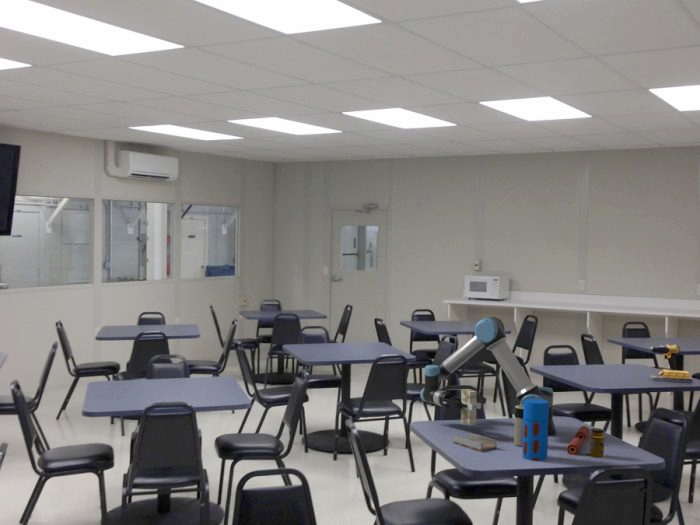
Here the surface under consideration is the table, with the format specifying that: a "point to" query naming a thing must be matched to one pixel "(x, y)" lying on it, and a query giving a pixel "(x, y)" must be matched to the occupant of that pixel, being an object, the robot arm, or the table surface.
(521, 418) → the travel mug
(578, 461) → the table surface
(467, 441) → the floor track
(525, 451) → the thermos
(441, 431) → the table surface
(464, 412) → the pale wooden block
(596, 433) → the condiment
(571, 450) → the blood vessel
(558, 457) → the table surface
